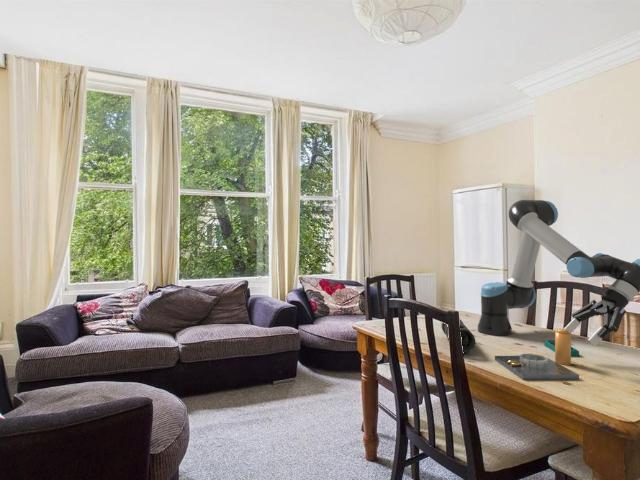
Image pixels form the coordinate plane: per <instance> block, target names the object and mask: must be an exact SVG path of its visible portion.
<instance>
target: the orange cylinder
mask: <svg viewBox="0 0 640 480" xmlns="http://www.w3.org/2000/svg"><path fill="white" fill-rule="evenodd" d="M571 334H572V333H569V330H566V329H564V328H557V329H556V331H554V336H555V337H554V340H555V352H554V355H555V356H554V358H555V359H554V362H556V363H558V364H560V365H562V366H571V365H572V356H571V347H572V335H571Z"/></svg>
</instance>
